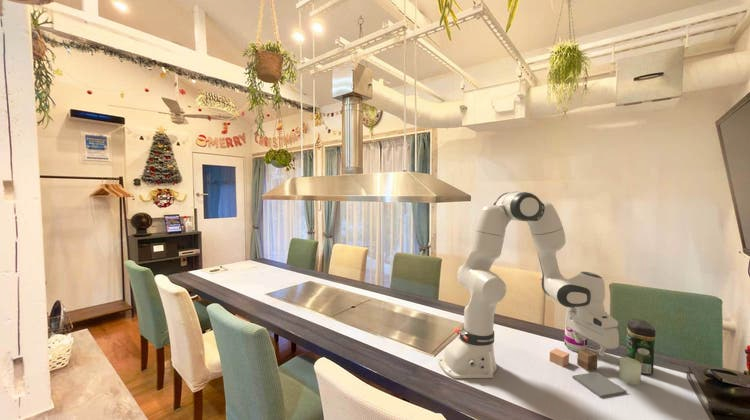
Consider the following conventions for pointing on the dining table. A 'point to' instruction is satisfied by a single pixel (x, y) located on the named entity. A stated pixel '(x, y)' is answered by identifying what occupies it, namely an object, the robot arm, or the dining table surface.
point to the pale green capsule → (630, 371)
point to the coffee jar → (641, 344)
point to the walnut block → (587, 359)
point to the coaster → (599, 384)
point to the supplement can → (571, 342)
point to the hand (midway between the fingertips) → (589, 348)
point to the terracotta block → (559, 357)
